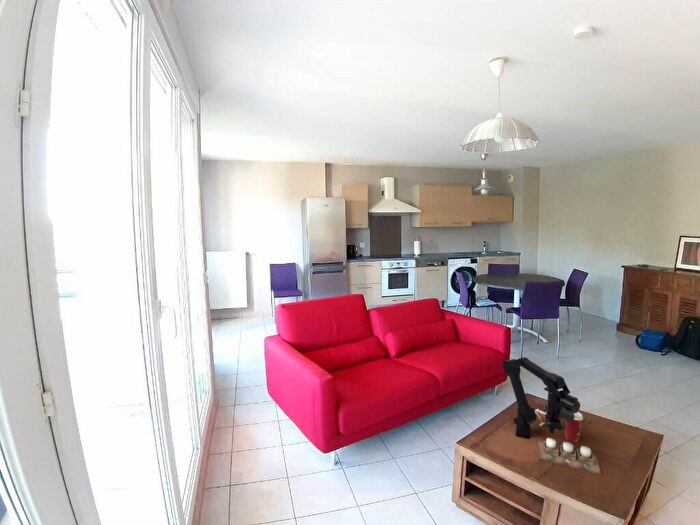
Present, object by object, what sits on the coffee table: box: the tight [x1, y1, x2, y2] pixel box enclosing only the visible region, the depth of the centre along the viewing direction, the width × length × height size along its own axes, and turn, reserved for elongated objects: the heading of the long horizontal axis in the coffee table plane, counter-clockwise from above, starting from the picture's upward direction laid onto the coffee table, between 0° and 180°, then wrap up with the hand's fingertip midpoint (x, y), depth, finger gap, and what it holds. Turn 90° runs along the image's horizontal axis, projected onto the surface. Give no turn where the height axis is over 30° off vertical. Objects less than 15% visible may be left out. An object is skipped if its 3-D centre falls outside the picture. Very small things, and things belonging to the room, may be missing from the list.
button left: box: [545, 437, 557, 450], centre depth 167 cm, size 4×4×4 cm
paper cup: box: [565, 411, 584, 443], centre depth 177 cm, size 8×8×14 cm
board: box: [537, 440, 602, 476], centre depth 163 cm, size 24×12×4 cm, turn 64°
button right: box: [580, 445, 592, 458], centre depth 161 cm, size 4×4×4 cm
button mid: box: [562, 441, 574, 454], centre depth 164 cm, size 4×4×4 cm
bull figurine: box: [535, 408, 563, 427], centre depth 188 cm, size 4×13×8 cm, turn 54°
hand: (551, 432), depth 166 cm, fingers closed
